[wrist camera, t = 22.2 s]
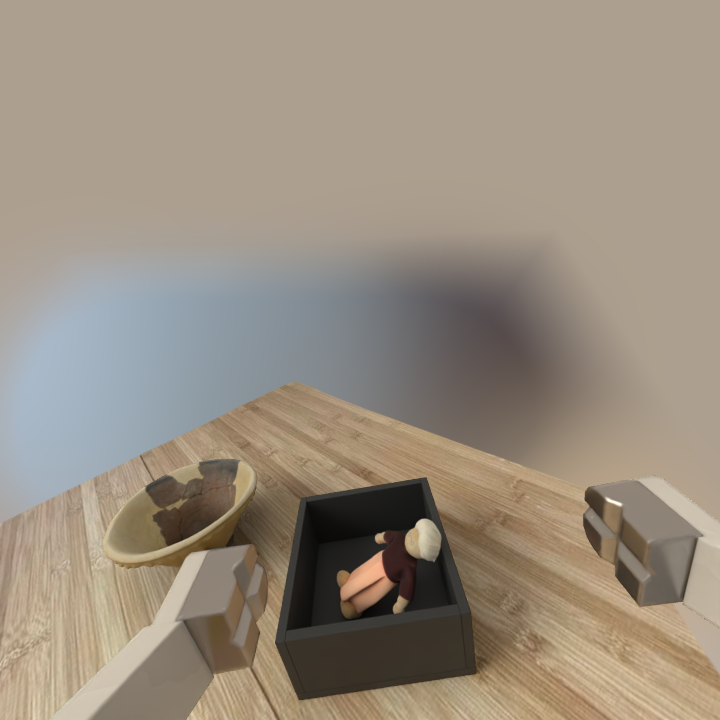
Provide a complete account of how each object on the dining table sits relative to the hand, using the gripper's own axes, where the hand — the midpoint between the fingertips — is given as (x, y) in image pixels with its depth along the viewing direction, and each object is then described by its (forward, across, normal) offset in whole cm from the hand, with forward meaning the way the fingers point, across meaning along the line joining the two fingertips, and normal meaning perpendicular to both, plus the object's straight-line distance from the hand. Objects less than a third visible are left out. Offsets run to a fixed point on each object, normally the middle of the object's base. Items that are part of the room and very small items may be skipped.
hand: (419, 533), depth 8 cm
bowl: (+29, +27, +30) cm, 49 cm away
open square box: (+19, +4, +30) cm, 35 cm away
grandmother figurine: (+17, +7, +27) cm, 33 cm away
